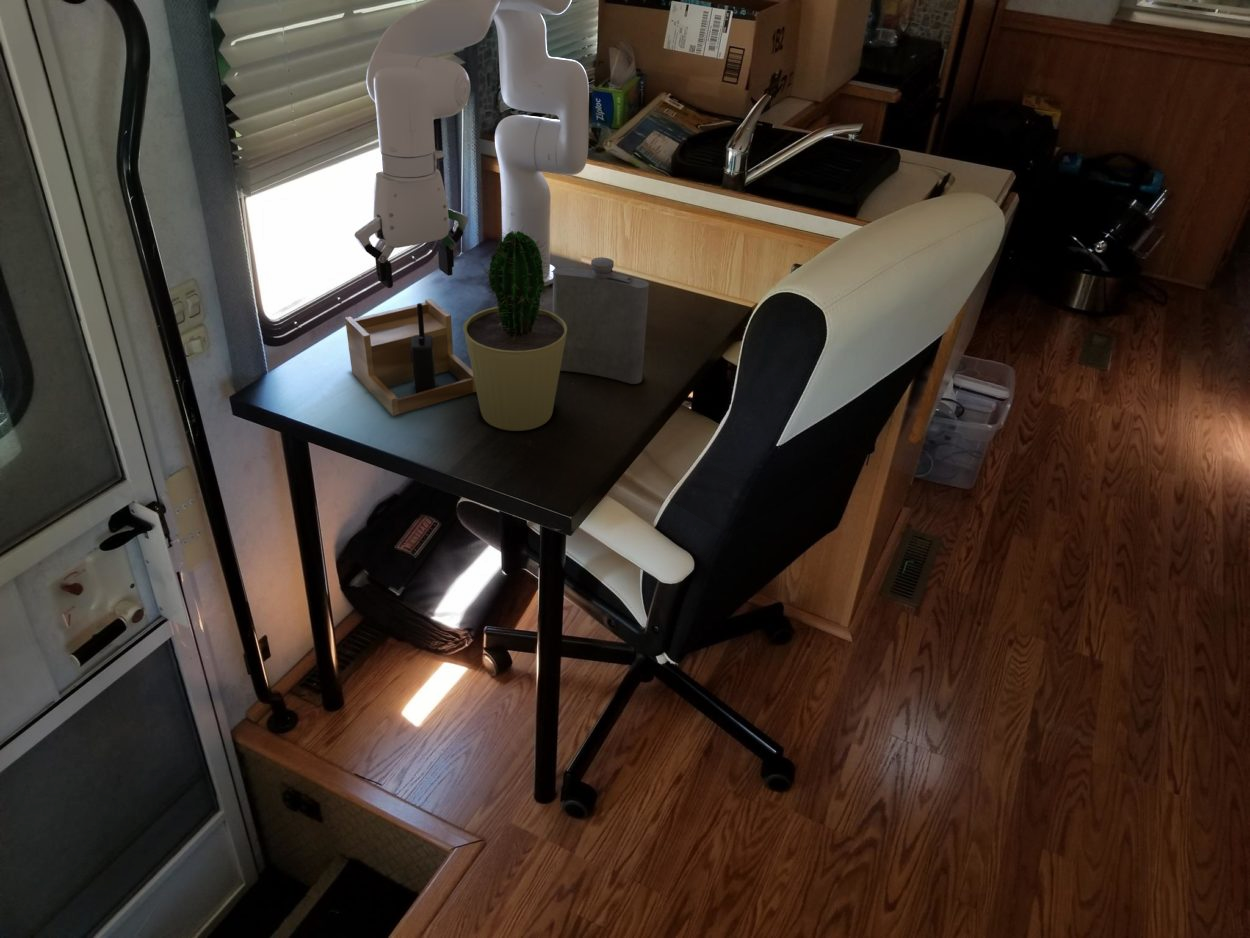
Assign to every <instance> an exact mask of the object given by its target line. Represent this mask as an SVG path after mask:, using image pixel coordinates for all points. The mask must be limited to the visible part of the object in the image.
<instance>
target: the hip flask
mask: <svg viewBox="0 0 1250 938" xmlns="http://www.w3.org/2000/svg"><path fill="white" fill-rule="evenodd" d="M614 262H615V261H614V260H613V259H611V258H608V257H602V256H601V257H594V258H592V259H591V261H590V267H591V268H592V269H588V268H579V267H567V266H560V267H559V266H558V267H555V269H554V270H553V283H552V313H554V314H555V315H557V316H559V317H560V318H561V319H562V320H563V321H564V322H565V324H566V326H567V333H566V340H565V346H564V351H563V356H562V362H561V367H560V372H570V373H571V372H573V373H580V374H586V375H593V376H597V377H598V376H599V377H603V378H608V379H612V380H615V381H620V382H624V383H627V384H631V385H635V384H636V385H637V384H640V383H642V381H643V374H644V373H643V371H644V361H645V360H644V359H645V345H646V344H645V343H646V334H647V333H646V330H647V319H648V306H649V305H648V304H649V292H650V291H649V290H650V282H648V281H647V280H645V279H642V278H637V277H633V276H630V275H626V274H622V273H618V272H614V271H613V269H614V265H615V263H614Z"/></svg>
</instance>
